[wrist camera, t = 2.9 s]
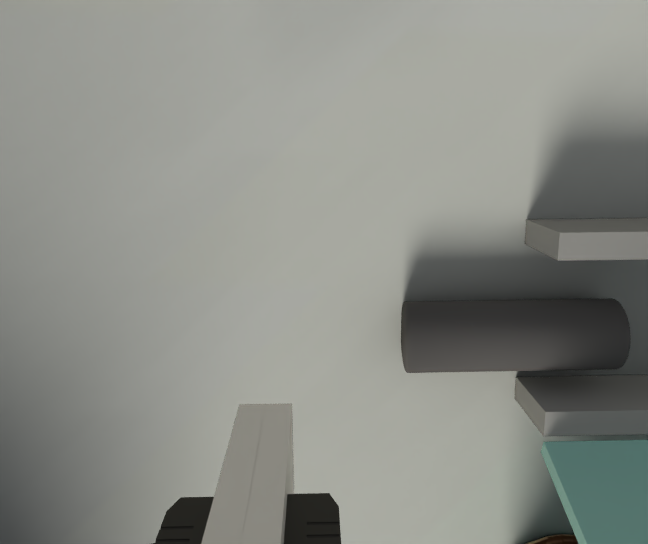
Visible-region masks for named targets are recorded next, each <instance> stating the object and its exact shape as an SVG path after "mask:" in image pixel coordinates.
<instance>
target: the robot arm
mask: <svg viewBox="0 0 648 544" xmlns="http://www.w3.org/2000/svg"><path fill="white" fill-rule="evenodd" d="M153 544H341V537H340V520H339V506H338V505H337V504H336V502H335V501H334V499H333V498H332V497H331V495H330V494H329V493H321V494H294V464H293V422H292V404H239V407H238V411H237V415H236V418H235V422H234V426H233V429H232V433H231V437H230V440H229V444H228V448H227V451H226V455H225V459H224V462H223V466H222V470H221V473H220V477H219V481H218V484H217V488H216V491H215V495H214V497H185V498H180V499H179V500H178V501H177V502H176V503H175V504H174V505H173V506H172V507H171V508H170V509H169V510H168V511H167V512H166V515H165V517H164V520H163V522H162V525H161V530H159V533H158V535H157V538H156V543H153Z"/></svg>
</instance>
